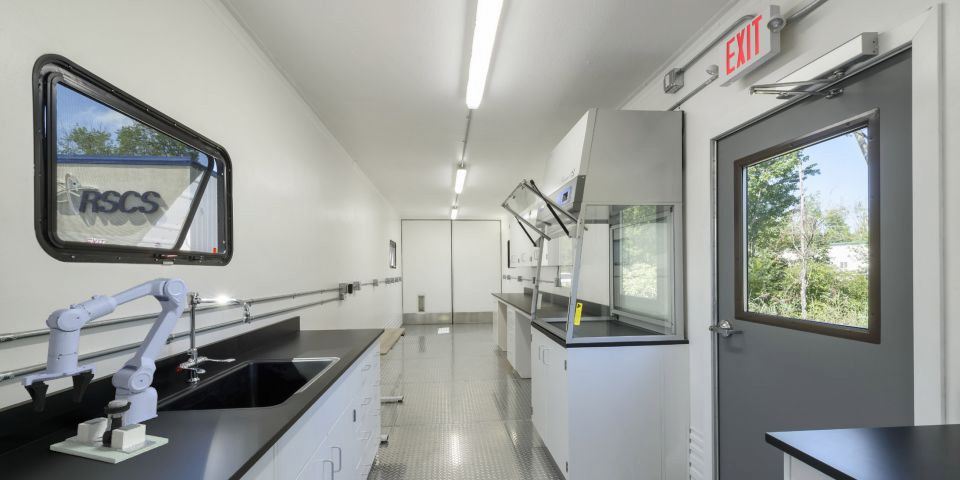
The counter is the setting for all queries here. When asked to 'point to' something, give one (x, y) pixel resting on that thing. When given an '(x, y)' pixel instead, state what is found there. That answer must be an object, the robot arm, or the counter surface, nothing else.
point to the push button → (114, 418)
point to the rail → (108, 445)
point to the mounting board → (104, 450)
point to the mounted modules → (120, 436)
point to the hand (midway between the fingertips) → (58, 406)
